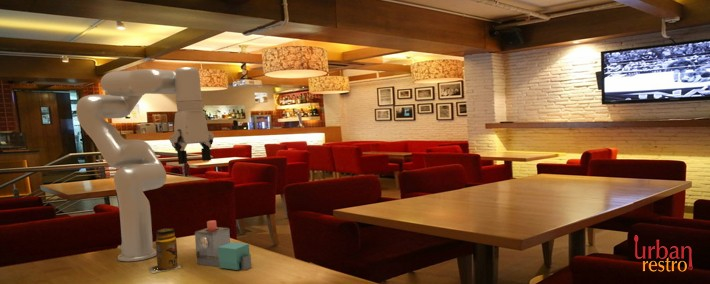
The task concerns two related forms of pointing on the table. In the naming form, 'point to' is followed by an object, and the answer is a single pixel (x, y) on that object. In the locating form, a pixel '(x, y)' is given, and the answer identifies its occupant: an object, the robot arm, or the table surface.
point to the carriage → (232, 254)
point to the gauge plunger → (211, 225)
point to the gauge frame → (211, 240)
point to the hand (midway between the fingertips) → (195, 162)
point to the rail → (214, 261)
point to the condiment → (166, 251)
